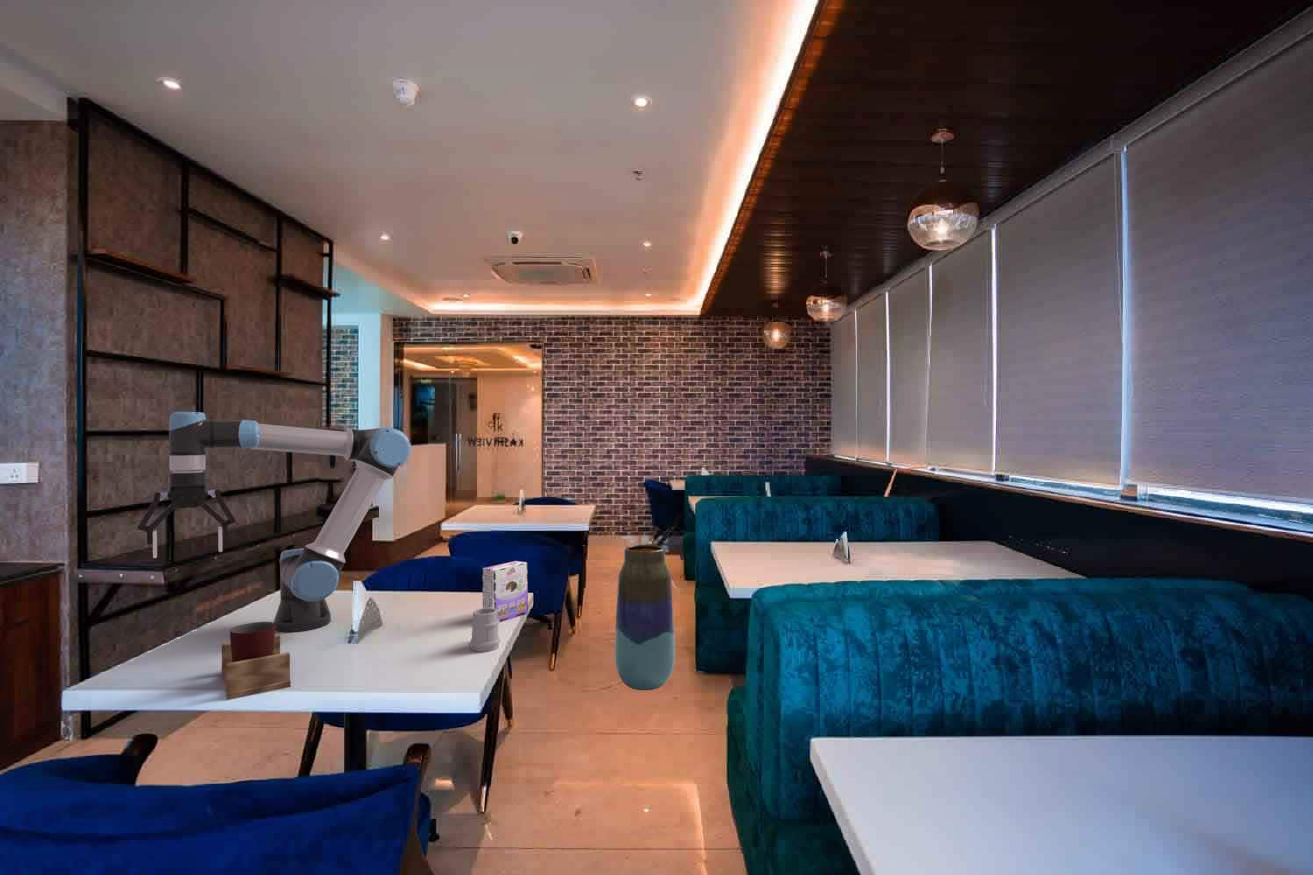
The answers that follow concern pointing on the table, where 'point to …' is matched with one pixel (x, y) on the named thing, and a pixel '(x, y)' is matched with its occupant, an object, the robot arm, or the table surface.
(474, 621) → the mug
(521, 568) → the candy box
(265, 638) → the mug
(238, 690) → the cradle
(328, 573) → the robot arm
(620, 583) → the vase
